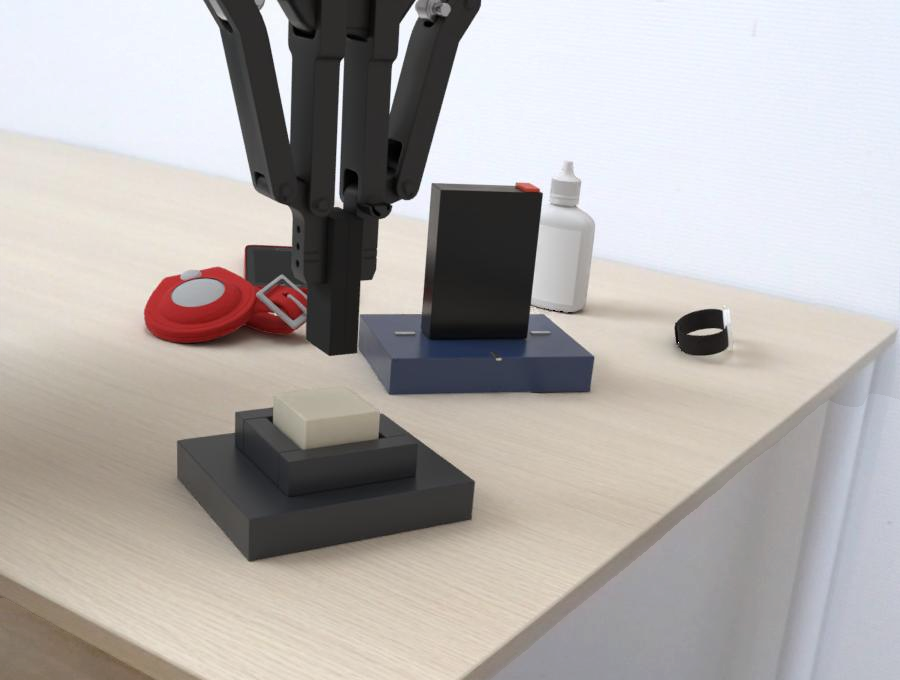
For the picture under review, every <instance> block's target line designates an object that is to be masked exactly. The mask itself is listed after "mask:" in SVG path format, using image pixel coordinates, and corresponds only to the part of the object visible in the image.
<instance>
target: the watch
mask: <svg viewBox="0 0 900 680" xmlns="http://www.w3.org/2000/svg"><path fill="white" fill-rule="evenodd" d="M721 307H722V309H719V308H704V309H699V310H695V311H691V312H689V313H687V314H684V315H683V316H681V317H680V318H679V319H678V320H677V321H676V322H674V328H673V329H674V337H675V346H676V345H678V348H680V349H681V350H680V349H679V350H680V352H682V351H683V352H684V353H683V352H682V353H683V354H686V355H688V356H695V357H704V356H705V357H706V356H714V355H717V354H720V353H722V352H725V351H727V352H730V351H732V350H734V349H735V348H734V339H733V328H732V318H731V311H730V308H727V305H726V304H723V305H722V306H721ZM710 329H711V330H712V329H716V330H721V331H718V332H715V333H712V334H711V333H710V334H705V335H693V334H691V333H694V332H697V331H703V330H710ZM678 342H679V343H678Z"/></svg>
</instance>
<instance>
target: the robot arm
mask: <svg viewBox="0 0 900 680" xmlns="http://www.w3.org/2000/svg"><path fill="white" fill-rule="evenodd" d="M202 1H203V2H204V4H205V6H206V7H207V10H208V11H209V13H210V15H211V16H212V18H213V20H214V21H215V23H216V25H217V27H218V29H219V34H220V38H221V43H222V47H223V53H224V57H225V61H226V62H225V63H226V66H227V71H228V76H229V80H230V85H231V89H232V94H233V98H234V99H233V100H234V103H235V107H236V112H237V113H236V114H237V117H238V122H239V126H240V131H241V136H242V140H243V145H244V150H245V154H246V158H247V163H248V164H247V165H248V168H249V173H250V178H251V181H252V182H251V183H252V186H253V188H254V190H255V191H256V192H257V193H259V194H260V195H263V196H265V197H267V198H269V199H271V200H272V201H274V202H277V203H278V204H281V205H284V206H287V207H288V208H289V209H290V211H291V216H292V224H291V225H292V226H291V227H292V228H291V246H292V263H291V267H292V270H293V273H294V276H295V278H297V279H299V280H300V281H302V282H304V283H305V284H307V314H306V323H305V340H306V341H307V342H308V343H309V344H311V345H313V346H314V347H315V348H317V349H318V350H320V351H321V352H322V353H324V354H325V355H327V356H329V357H336V356H343V355H344V356H345V355H353V354H358V349H359V348H358V340H359V321H360V306H361V305H360V304H361V302H360V301H361V300H360V299H361V283H362V281H363V282H364V281H372V280H373V279H374V276H375V274H376V272H377V265H378V264H377V263H378V258H377V257H378V246H379V245H378V244H379V227H380V225H379V224H380V220H382V219H383V220H384V219H386V218H387V217H388V216H390V215H391V212H392V210H393V204H395V203H398V202H399V201H401V200H403V201H410V200H414V198H416V196H417V195H418V193H419V191H420V188H421V185H422V180H423V176H424V172H425V169H426V166H427V163H428V159H429V155H430V150H431V147H432V144H433V141H434V136H435V133H436V129H437V125H438V121H439V119H440V114H441V110H442V108H443V107H442V106H443V104H444V99H445V95H446V92H447V88H448V85H449V82H450V77H451V73H452V70H453V66H454V62H455V59H456V55H457V52H458V48H459V44H460V43H461V40H462V39H463V37H464V36H465V34H466V32H467V31H468V29H469V27H470V26H471V24H472V23H473V21H474V19H475V18H476V16H477V15H478V13H479V12H480V9H481V7H482V0H276V2H277V4H279V7H280V9H281V10H282V12H283V13H284V15H285V17H286V18H287V21H288V23H287V46H288V50H289V52H290V54H291V82H290V83H291V84H290V85H291V87H290V88H291V89H290V124H289V125H290V126H289V128H290V129H289V131H290V132H288V128H287V123H286V117H285V113H284V108H283V102H282V96H281V91H280V88H279V82H278V77H277V73H276V67H275V62H274V56H273V51H272V46H271V41H270V37H269V33H268V29H267V26H266V22H265V20H264V17H263V15H262V12H261V10H262V9H263V8H264V6H265V3H266V0H202ZM413 5H414V10H415V12H416V13H417V15H418V17H417V19H416V20H415V23H414V25H413V28H412V30H411V33H410V36H409V39H408V42H407V47H406V49H405V50H406V51H405V54H404V58H403V61H402V65H401V69H400V73H399V77H398V81H397V84H396V88H395V92H394V96H393V100H392V104H391V95H392V74H393V73H392V72H393V64H394V63H395V61H396V60H397V59H398V55H399V44H400V29H401V28H400V25H401V23H402V22H403V20H404V18H405V17H406V15H407V14H408V13H409V11H410V9H412V6H413ZM342 60H343V75H342V76H343V80H342V100H341V101H342V105H341V128H340V129H341V131H340V132H341V133H340V159H339V181H338V182H339V184H338V185H339V187H338V195H339V200H340V201H341V203H342V207H340V206H335V203H336V202H335V200H336V176H337V151H338V150H337V148H338V129H339V128H338V126H339V125H338V124H339V103H340V80H341V79H340V77H341V76H340V75H341V63H342Z"/></svg>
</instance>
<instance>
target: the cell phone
mask: <svg viewBox="0 0 900 680" xmlns="http://www.w3.org/2000/svg"><path fill="white" fill-rule="evenodd" d="M243 256H244V257H243V258H244V279H245V280H247V281H248V282H249V283H251V284H252V285H253V286H255V287H257V288H260V289H263V288H264V287H265V286H267V285H268V284H269V283H271V282H272V281H273V280H275V279H276V278H277V277H279V276H280V275H284V276H285V277H286V278H287V279H288V280H290V281H291V282H292V283H293V284H294V285H295V286H296V287H298V288H299V289H300V290H301V291H302V292H303V293H304V294H305V295H307V284H305V283H304V282H302V281H300V280H299V279H297V278H295V276H294V273H293V270H292V267H291V263H292V245H291V246H289V245H268V244H247V245H246V246H245V247H244V255H243ZM277 285H282V286H286V285H285V284H284V283H282V282H280V283H278V284H277ZM286 287H287V286H286Z"/></svg>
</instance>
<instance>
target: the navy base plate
mask: <svg viewBox="0 0 900 680" xmlns="http://www.w3.org/2000/svg"><path fill="white" fill-rule="evenodd" d="M421 319H422V313H359V326H358V348H357V349H359V351H360V352H361V354H362V355H363V357H364V358H365V360H366V361H367V363H368V364H369V366H370V367H371V369H372V370H373V372H374V374H375V376H376V377H377V378H378V381H380V383H381V384H382V386H383V387H384V390H385V391H386V392H387V394H388V395H390V396H391V395H392V396H393V395H394V396H396V395H441V394H444V395H446V394H494V393H502V394H503V393H570V392H571V393H572V392H590V391H591V387H592V381H593V380H592V379H593V372H594V366H595V365H594V364H595V355H594V354H592V353H591V352H590V351H589V350H587V349H586V348H585V347H584V346H583V345H581V344H580V343H579V342H578V341H576V340H575V339H574V338H573V337H572V336H570V335H569V334H568V333H567V332H566V330H564V329H562V328H561V327H560V326H559V325H557V323H555V322H554V321H552V320H551V318H550V317H548V316H547V315H545V314H544V313H530V316H529V325H528V334H527V338H526V339H429V338H428V336H427V335H426V334H425V333H424V332H423V331H422V329H421Z"/></svg>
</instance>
